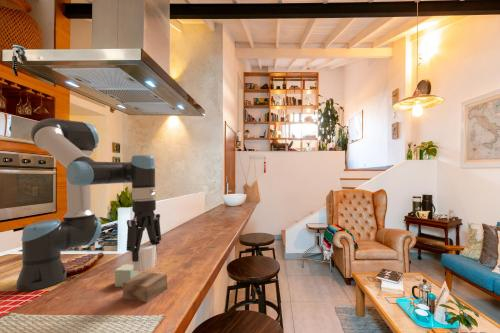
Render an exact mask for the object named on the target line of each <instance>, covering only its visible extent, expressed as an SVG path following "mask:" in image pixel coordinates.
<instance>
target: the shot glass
mask: <svg viewBox="0 0 500 333" xmlns="http://www.w3.org/2000/svg"><path fill="white" fill-rule="evenodd" d="M155 250H156V246H155V245H149V244H143V245H140V249H139V251H141V262H142V271H148V270H152V269H153V268H155V265H156V264H155Z"/></svg>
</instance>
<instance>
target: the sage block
mask: <svg viewBox="0 0 500 333" xmlns="http://www.w3.org/2000/svg"><path fill="white" fill-rule="evenodd" d="M139 274H140V271H133V263H132V264H127V263H126V264H122V265H121V266H120V267H118V268H116V269H115V270H114V286H115V287H120V286H123V283H124V282H126V281H127V280H129V279H131V278H133V277H135V276H137V275H139Z"/></svg>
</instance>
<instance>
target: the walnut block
mask: <svg viewBox="0 0 500 333" xmlns="http://www.w3.org/2000/svg"><path fill="white" fill-rule="evenodd" d="M166 290H168V274H163V273H157V272H156V273H155V272H148V271H143V272H141V273H139V275H137V276H135V277H133V278H131V279H129V280H127V281H126V282H124V283H123V287H122V298H123V299H126V300H132V301H138V302H144V303H149V302H150V301H152V300H153V299H154V298H156V297H158V296H159V295H161V294H162V293H163V292H165V291H166Z"/></svg>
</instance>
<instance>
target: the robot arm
mask: <svg viewBox="0 0 500 333" xmlns="http://www.w3.org/2000/svg"><path fill="white" fill-rule="evenodd" d="M30 138H31V140H32V142H33V143H34V144H35V145H36V146H37V148H39V149H40V150H43V151H47V153H49V154H50V155H51V156H52V157H53V158H54V159H55V160H57V162H58V163H60V164H61V165H62V166H63V167H64V168H65V169H66V170H65V175H66V177H65V178H66V206H67V208H66V210H67V211H66V213H65V214H64V215H63V216H62V219H63V221H61V220H60V219H59V218H58V219H57V218H52V219H45V220H40V221H37V222H34V223H30V224H28V225H26V226H24V227H23V229H22V233H21V234H22V235H21V236H22V237H21V242H22V244H21V245H22V246H21V248H22V249H21V250H22V252H21V253H22V255H21V256H22V258H21V259H22V265H21V266H22V267H21V269H20V272H19V274H18V277H17V279H16V290H18V291H22V292H26V291H35V290H42V289H46V288H49V287H52V286H53V287H54V286H55V285H58V284H59V283H62V282H63V281H65V279H66V278H67V270H66V269H65V268H66V267H65V266H64V263H63V261H62V257H61V256H62V255H61V252H62V251H66V250H70V249H74V248H78V247H83V246H88V245H91V244H94V243H95V242H96V241H97V240H98V239H99V237H100V236H101V233H102V222H101V220H100V217H98V216H96V213H95V212H94V211H93V210H92V209H91V208H92V204H91V201H92V200H91V185H92V186H93V185H94V186H95V185H105V184H106V185H108V184H109V185H110V184H112V185H113V184H128V183H131V199H132V202H131V204H132V208H131V210H132V212H133V213H134V215H133V218H132V219H128V220H126V226H127V235H126V236H127V237H126V251H127V252H131V258H132V259H131V260H132V264H133V271H139V272H142V271H143V270H142V262H141V251H139V249H140V246H141V244H142V238H143V235H144V231H145V230H146V231H147V232H146V233H147V236H148V239H149V243H150V244H148V245H155V246H156V250H155V265H156V264H157V262H158V259H157V253H158V245H160V244H161V241H162V234H161V232H162V231H161V223H160V220H161V214H159V213H155V211H156V208H157V207H156V206H157V203H156V199H155V198H156V164H155V163H156V162H155V157H154V156H153V155H151V154H135V155H132V156H131V161H121V162H120V161H95V160H94V159H92V158H91V155H92V154H93V153H94V150H95V149H97V147H98V146H99V143H100V139H99V138H100V137H99V133H98V130H97V129H96V127H95V126H94V125H93V124H91V123H89V122H83V121H76V120H67V119H61V118H46V119H41V120H39V121H38V122H37V123H35V124H34V125H33V126H32V127H31V130H30Z"/></svg>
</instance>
